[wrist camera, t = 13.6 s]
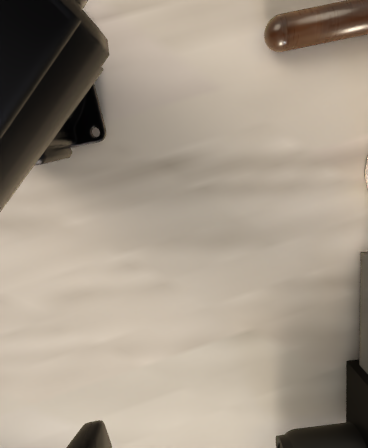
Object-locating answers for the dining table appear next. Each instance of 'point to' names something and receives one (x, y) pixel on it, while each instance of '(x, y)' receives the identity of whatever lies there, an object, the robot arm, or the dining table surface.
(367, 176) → the white cup
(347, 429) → the door handle
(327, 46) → the dining table surface
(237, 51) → the dining table surface
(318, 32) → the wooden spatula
